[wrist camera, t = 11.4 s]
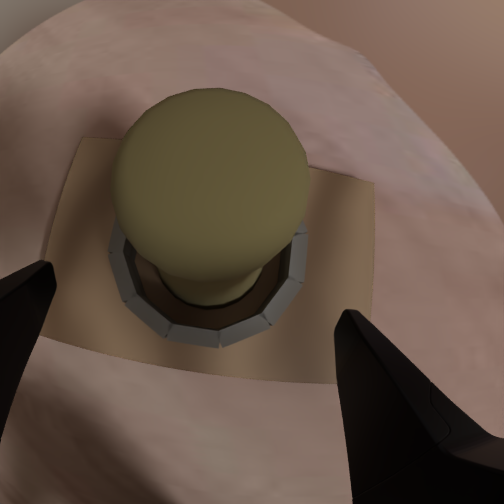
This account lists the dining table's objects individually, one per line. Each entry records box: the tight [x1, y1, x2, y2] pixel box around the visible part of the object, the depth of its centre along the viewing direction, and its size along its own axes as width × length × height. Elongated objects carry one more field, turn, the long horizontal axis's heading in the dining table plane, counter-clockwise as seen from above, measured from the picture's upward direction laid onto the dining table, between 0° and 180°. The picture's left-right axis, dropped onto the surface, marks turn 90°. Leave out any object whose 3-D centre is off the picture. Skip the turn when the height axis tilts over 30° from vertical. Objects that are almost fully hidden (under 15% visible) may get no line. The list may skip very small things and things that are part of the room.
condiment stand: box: [39, 137, 375, 384], centre depth 16 cm, size 20×13×4 cm, turn 83°
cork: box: [110, 88, 311, 310], centre depth 12 cm, size 6×6×11 cm
